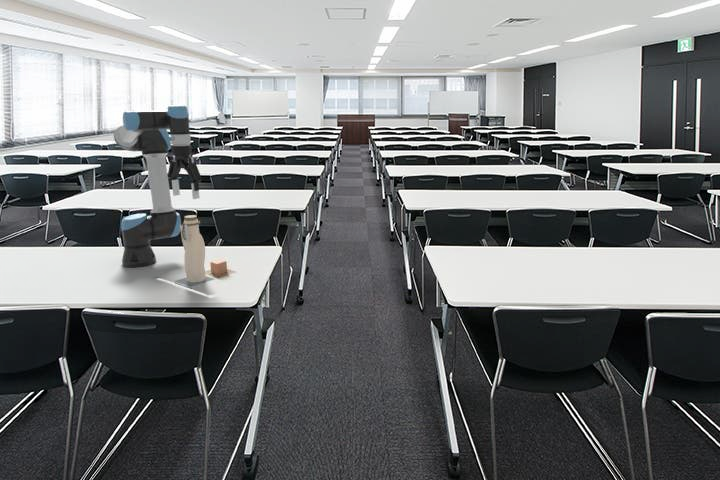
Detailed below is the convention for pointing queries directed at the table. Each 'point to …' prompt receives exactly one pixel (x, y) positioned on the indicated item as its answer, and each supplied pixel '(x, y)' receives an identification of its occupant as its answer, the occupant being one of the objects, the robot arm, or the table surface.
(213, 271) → the terracotta block
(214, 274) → the walnut mat
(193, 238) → the water bottle
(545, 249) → the table surface
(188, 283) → the slate mat
